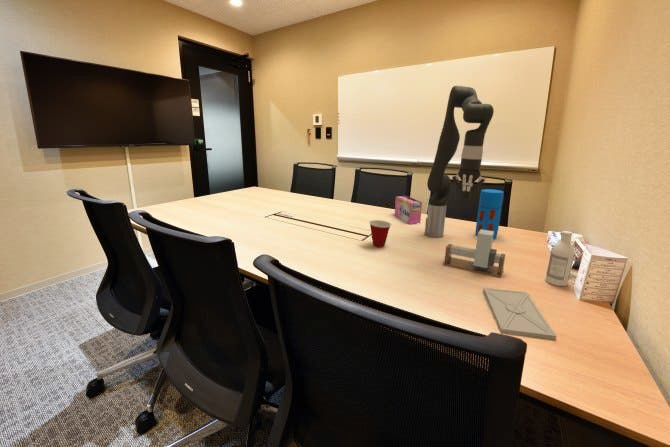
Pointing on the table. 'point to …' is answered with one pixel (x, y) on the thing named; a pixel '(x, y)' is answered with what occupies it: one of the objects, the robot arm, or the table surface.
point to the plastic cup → (379, 232)
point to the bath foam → (561, 261)
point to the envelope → (517, 313)
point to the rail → (469, 265)
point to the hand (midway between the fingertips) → (465, 199)
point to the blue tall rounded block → (489, 211)
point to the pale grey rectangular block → (483, 248)
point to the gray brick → (491, 257)
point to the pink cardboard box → (408, 209)
